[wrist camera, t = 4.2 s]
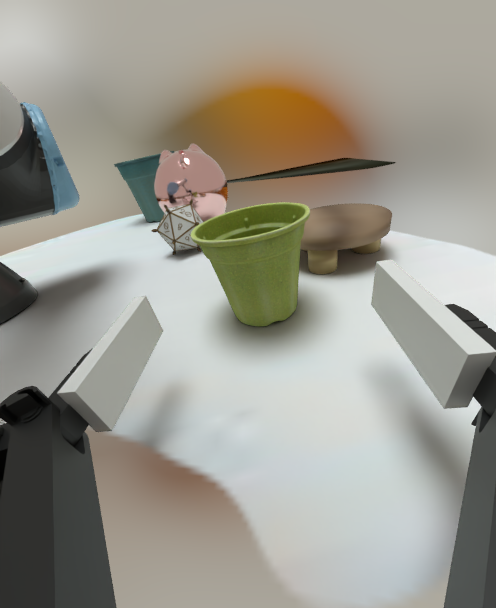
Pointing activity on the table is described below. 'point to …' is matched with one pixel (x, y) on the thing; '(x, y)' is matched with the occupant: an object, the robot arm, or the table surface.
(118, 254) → the table surface
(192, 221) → the game die
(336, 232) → the stand
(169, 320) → the table surface
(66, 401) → the robot arm
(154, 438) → the table surface
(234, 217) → the plant pot
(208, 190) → the piggy bank
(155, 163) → the flower pot
